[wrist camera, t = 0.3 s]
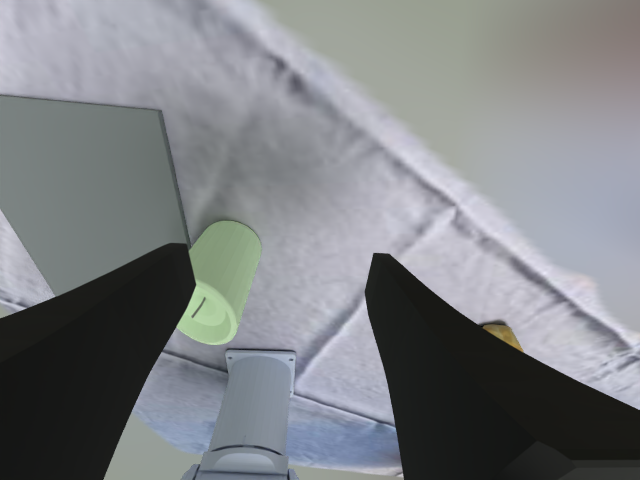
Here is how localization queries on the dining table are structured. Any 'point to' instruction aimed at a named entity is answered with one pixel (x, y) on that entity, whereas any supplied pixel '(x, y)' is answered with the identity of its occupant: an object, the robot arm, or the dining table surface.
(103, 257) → the mat
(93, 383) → the robot arm
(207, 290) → the candle
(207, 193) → the dining table surface
